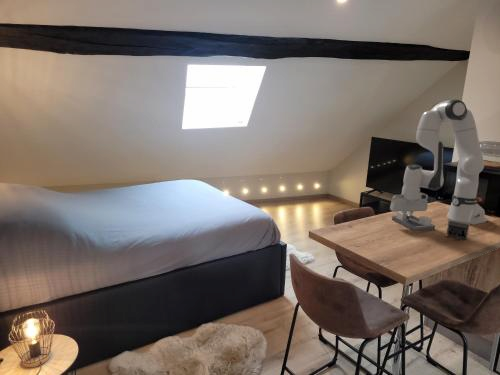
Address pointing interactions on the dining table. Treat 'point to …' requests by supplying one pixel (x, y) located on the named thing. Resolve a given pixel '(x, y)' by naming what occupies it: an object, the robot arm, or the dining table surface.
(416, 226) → the switch board
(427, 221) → the white cube-shaped block
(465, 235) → the electrical switch
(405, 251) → the dining table surface
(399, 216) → the white sliding block
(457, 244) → the dining table surface
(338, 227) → the dining table surface
